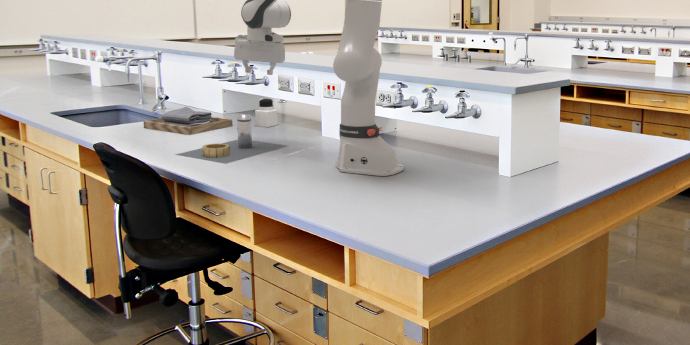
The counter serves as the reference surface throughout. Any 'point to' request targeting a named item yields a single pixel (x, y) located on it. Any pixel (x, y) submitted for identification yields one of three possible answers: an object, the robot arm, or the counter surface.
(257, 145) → the bench mat
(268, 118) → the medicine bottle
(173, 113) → the towel
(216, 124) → the towel frame
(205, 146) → the brass ring collar
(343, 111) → the robot arm
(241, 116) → the clear lidded jar
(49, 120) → the counter surface
